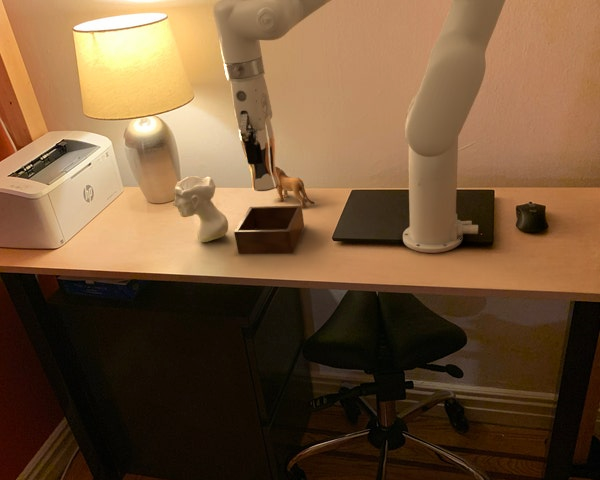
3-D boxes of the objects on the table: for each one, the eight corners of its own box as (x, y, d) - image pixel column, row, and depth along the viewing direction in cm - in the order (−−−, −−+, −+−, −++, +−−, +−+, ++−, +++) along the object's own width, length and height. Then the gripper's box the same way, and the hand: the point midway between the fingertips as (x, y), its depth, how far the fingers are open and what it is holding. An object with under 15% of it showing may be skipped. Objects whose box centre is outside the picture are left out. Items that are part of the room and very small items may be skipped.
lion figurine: (263, 201, 155) (257, 168, 150) (275, 193, 158) (270, 161, 153) (309, 209, 147) (305, 175, 142) (321, 201, 150) (317, 167, 145)
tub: (304, 226, 140) (301, 205, 136) (292, 253, 129) (289, 231, 126) (253, 227, 143) (249, 206, 140) (238, 253, 132) (233, 231, 129)
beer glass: (277, 191, 125) (265, 121, 117) (246, 193, 127) (232, 124, 118) (285, 178, 130) (273, 110, 122) (255, 180, 132) (242, 113, 124)
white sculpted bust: (235, 241, 137) (223, 181, 129) (189, 255, 135) (173, 194, 126) (224, 226, 145) (211, 168, 137) (179, 238, 142) (164, 180, 134)
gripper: (250, 79, 107) (267, 171, 117) (273, 56, 121) (287, 140, 131) (211, 82, 109) (231, 173, 119) (239, 60, 123) (255, 143, 133)
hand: (260, 155), depth 125 cm, fingers closed on beer glass, 7 cm apart
